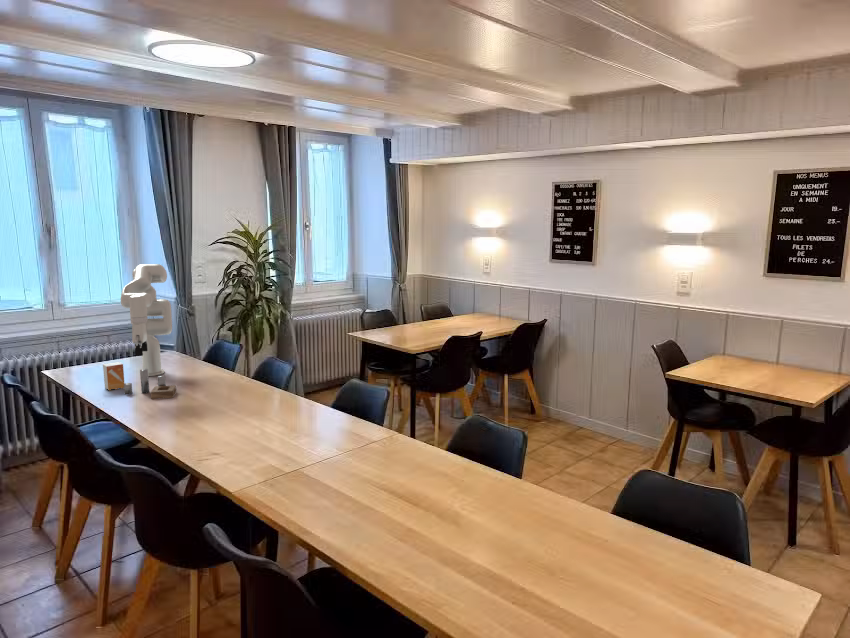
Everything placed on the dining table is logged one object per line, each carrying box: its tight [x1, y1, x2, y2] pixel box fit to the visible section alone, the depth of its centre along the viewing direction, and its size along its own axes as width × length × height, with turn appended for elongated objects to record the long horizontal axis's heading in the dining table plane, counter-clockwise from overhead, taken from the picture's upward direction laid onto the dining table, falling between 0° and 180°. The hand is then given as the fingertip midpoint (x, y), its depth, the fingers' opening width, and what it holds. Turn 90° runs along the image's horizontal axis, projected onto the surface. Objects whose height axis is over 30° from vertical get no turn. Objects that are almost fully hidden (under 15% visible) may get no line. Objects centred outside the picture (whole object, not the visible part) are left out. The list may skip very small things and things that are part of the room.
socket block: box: [150, 384, 177, 400], centre depth 291 cm, size 10×10×4 cm
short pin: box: [123, 382, 133, 395], centre depth 293 cm, size 4×4×5 cm
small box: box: [102, 361, 126, 391], centre depth 301 cm, size 8×6×13 cm
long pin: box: [139, 368, 150, 394], centre depth 295 cm, size 4×4×12 cm
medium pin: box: [157, 375, 167, 386], centre depth 297 cm, size 4×4×8 cm
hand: (141, 353), depth 291 cm, fingers open, 9 cm apart
